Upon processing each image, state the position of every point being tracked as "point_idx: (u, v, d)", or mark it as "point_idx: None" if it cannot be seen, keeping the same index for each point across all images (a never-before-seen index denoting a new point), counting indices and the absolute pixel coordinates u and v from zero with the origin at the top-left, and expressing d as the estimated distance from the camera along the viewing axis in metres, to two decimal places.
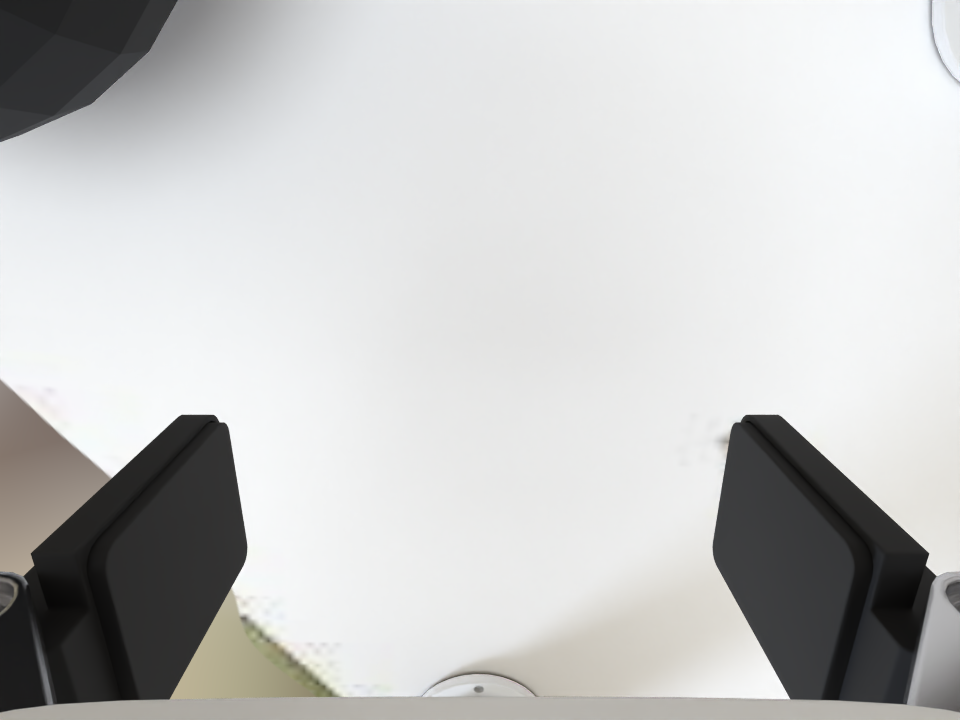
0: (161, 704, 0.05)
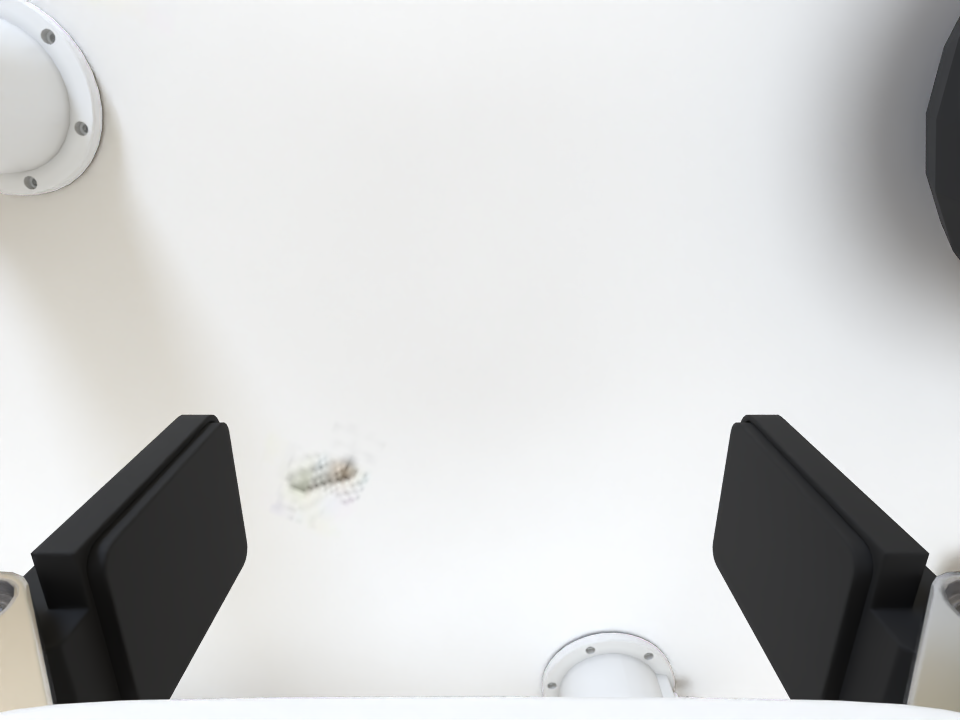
0: (161, 704, 0.05)
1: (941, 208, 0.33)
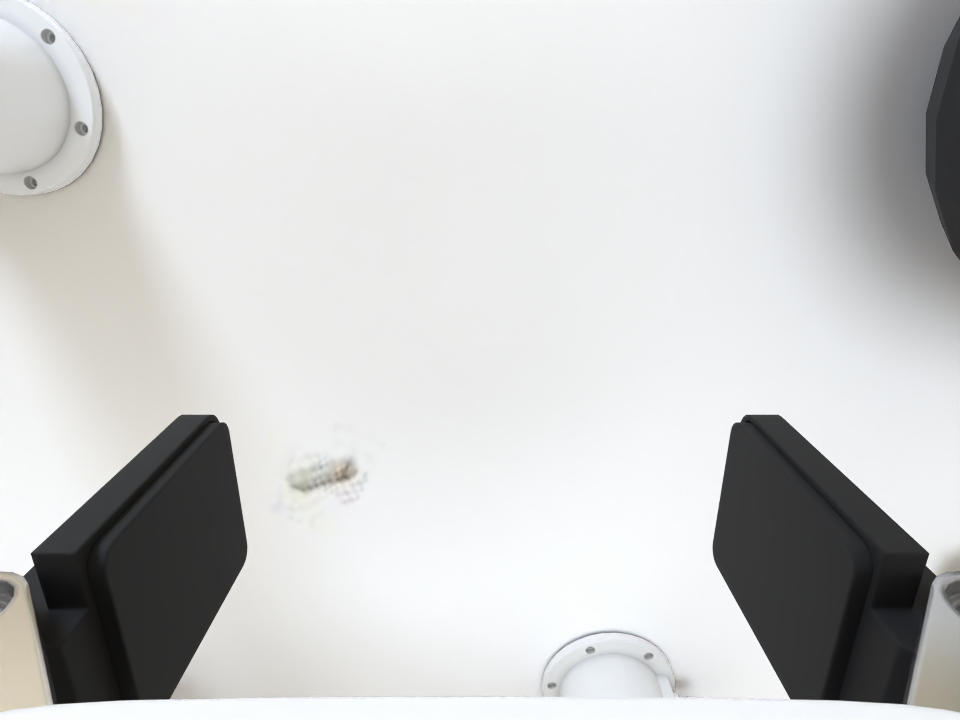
0: (161, 704, 0.05)
1: (941, 208, 0.33)
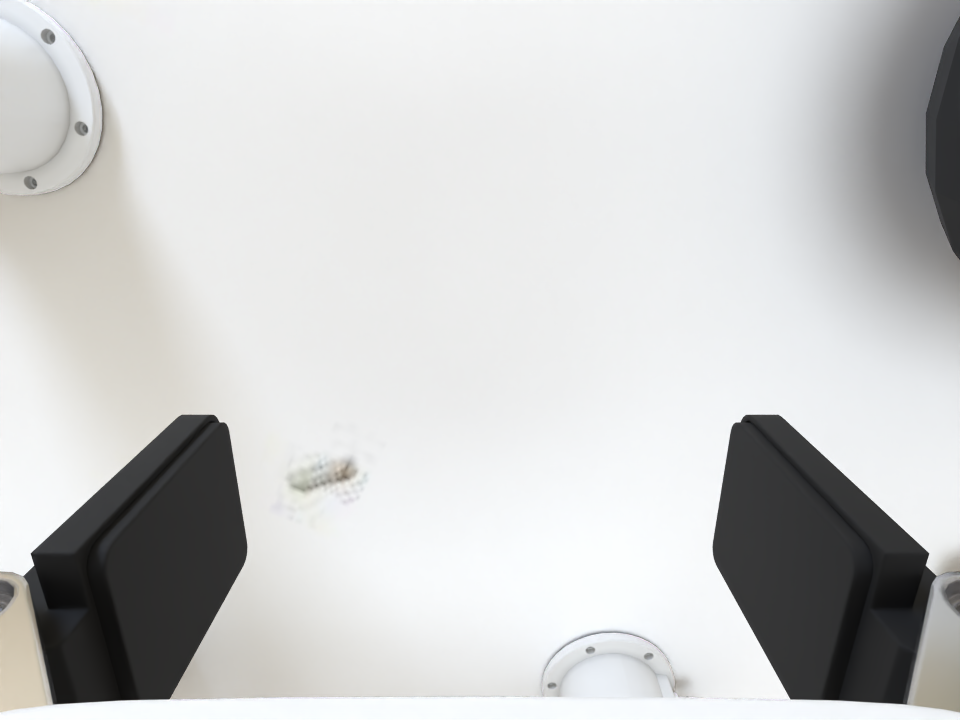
0: (161, 704, 0.05)
1: (941, 208, 0.33)
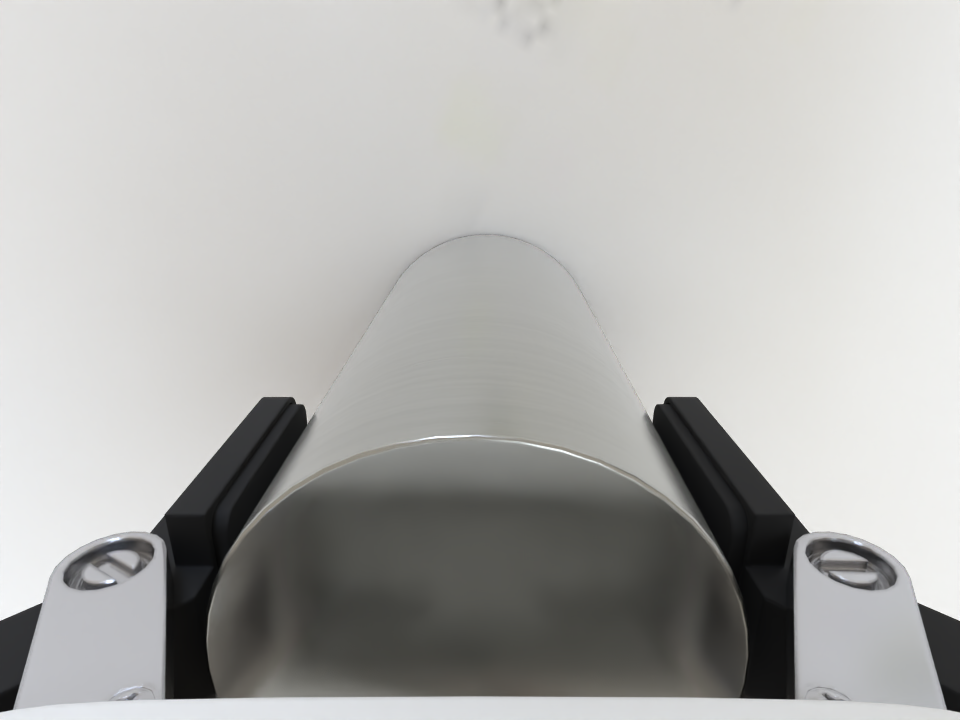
0: (161, 704, 0.05)
1: None
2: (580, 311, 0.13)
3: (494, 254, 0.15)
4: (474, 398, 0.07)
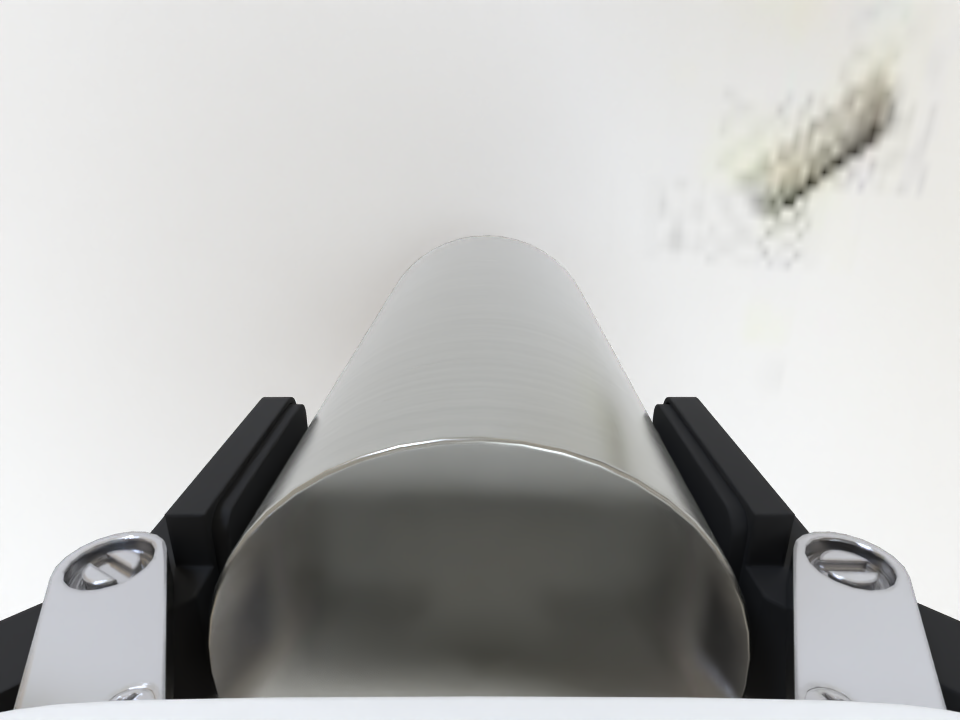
0: (161, 704, 0.05)
1: None
2: (581, 312, 0.13)
3: (495, 255, 0.15)
4: (476, 400, 0.07)
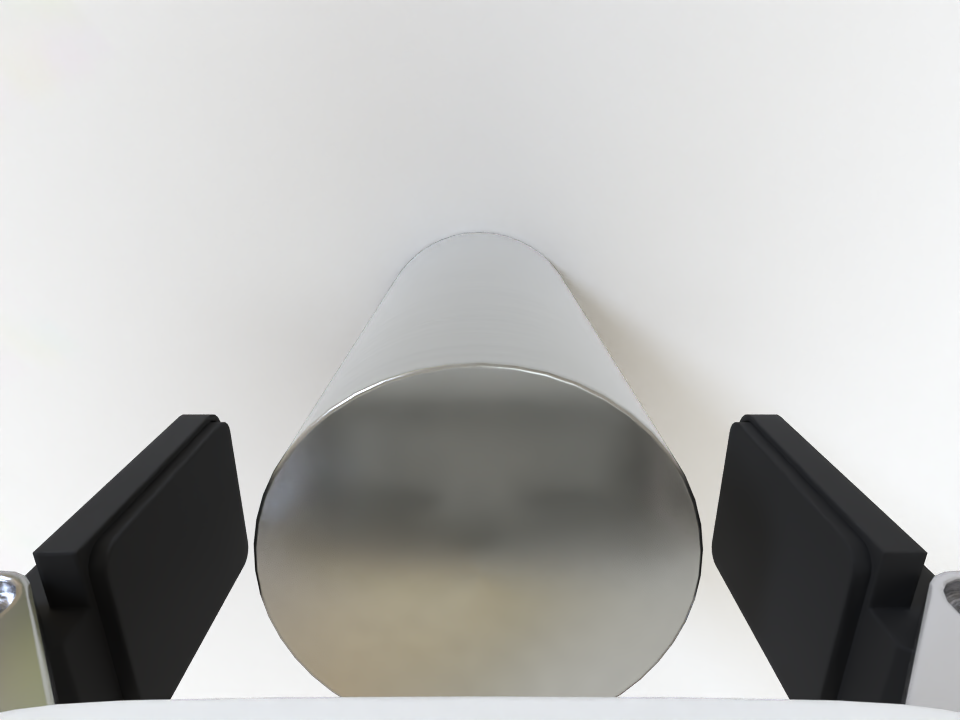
0: (161, 704, 0.05)
1: None
2: (564, 293, 0.15)
3: (487, 247, 0.17)
4: (477, 341, 0.09)
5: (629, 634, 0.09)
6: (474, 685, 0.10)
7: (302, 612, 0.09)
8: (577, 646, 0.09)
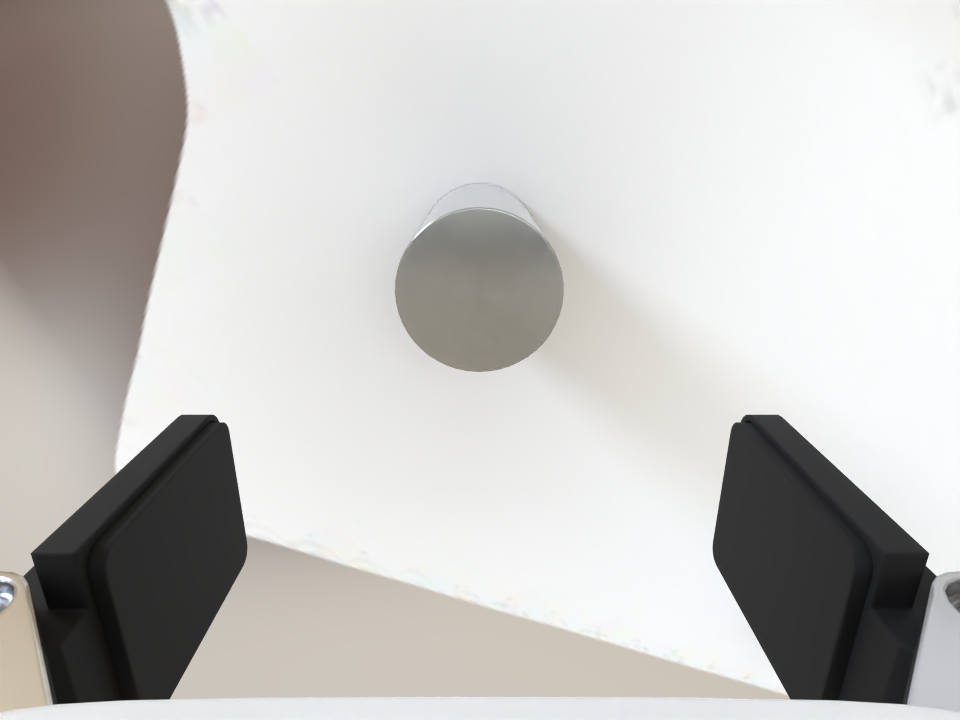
0: (161, 704, 0.05)
1: None
2: (522, 207, 0.29)
3: (483, 187, 0.31)
4: (478, 204, 0.23)
5: (537, 321, 0.24)
6: (477, 345, 0.24)
7: (412, 311, 0.24)
8: (517, 326, 0.24)
